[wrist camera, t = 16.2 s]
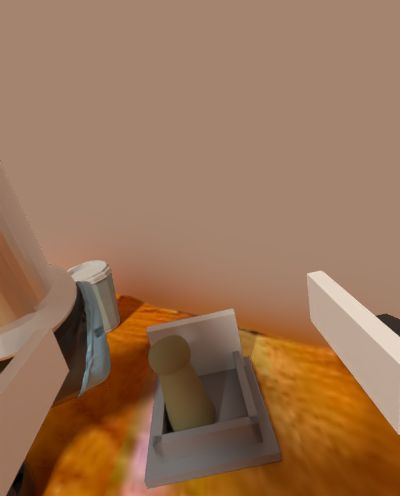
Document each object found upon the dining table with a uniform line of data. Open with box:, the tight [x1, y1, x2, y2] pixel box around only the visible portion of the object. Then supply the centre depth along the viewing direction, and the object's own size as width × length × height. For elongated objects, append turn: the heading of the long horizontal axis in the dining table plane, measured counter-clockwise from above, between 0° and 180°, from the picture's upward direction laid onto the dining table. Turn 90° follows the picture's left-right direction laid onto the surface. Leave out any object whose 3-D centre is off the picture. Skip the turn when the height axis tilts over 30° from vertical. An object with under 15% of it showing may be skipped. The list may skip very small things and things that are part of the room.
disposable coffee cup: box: [67, 260, 120, 333], centre depth 66 cm, size 11×11×15 cm
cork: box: [148, 335, 216, 432], centre depth 37 cm, size 6×6×11 cm
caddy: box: [145, 309, 282, 489], centre depth 38 cm, size 16×15×10 cm
